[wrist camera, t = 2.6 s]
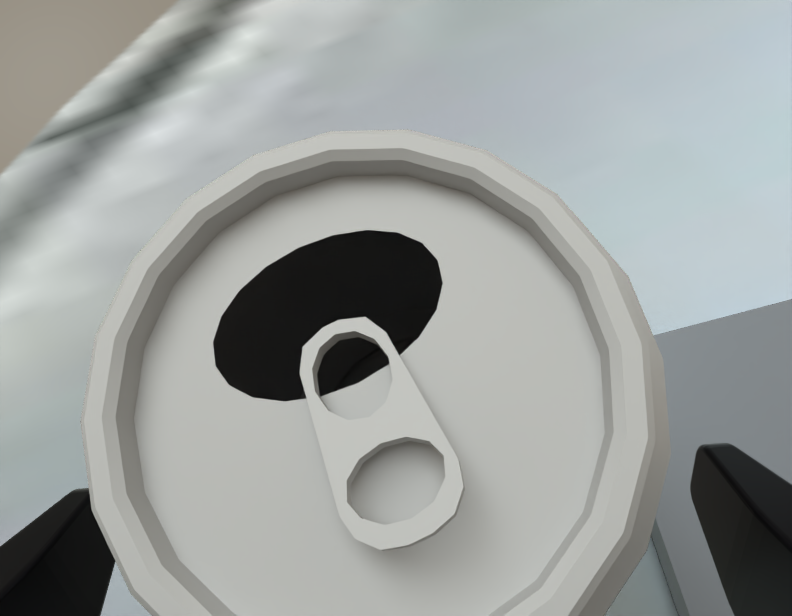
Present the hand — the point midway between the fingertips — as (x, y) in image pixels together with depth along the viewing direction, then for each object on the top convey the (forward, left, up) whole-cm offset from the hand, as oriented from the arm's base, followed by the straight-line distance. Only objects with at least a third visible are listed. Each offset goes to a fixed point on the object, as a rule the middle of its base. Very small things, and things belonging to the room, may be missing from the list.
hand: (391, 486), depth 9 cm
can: (+1, 0, -9) cm, 9 cm away
